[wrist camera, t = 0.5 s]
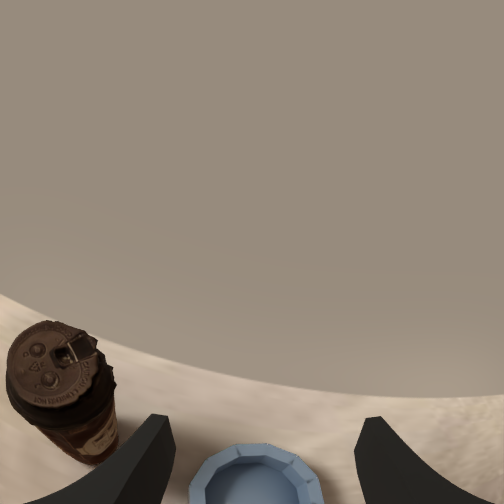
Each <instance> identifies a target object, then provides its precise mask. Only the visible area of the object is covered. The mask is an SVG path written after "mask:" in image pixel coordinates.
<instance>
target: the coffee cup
mask: <svg viewBox="0 0 504 504" xmlns="http://www.w3.org/2000/svg"><path fill="white" fill-rule="evenodd" d="M97 342H98V340H97V339H95V338H94V337H92V336H89V335H88V334H87V333H86V332H85V331H84V330H81V329H77V328H74V327H72V326H68V325H66V324H64V323H61V322H59V321H55V322H52V321H49V320H46V321H42V322H40V323H36V324H35V325H33V326H31V327H29V328H28V329H26V330H24V331H23V332H22V333H21V334H20V335H18V337H17V338H16V339H15V340H14V342H13V343H12V345H11V347H10V349H9V351H8V357H7V371H6V391H7V394H8V397H9V400H10V403H11V405H12V406H13V408H14V409H15V410H16V411H17V412H18V413H19V414H20V415H21V416H22V417H23V418H25V420H26V421H28V422H29V423H30V424H31V425H34V426H36V427H37V429H39V430H40V431H41V432H42V433H43V434H44V435H45V436H46V437H47V438H48V439H50V440H51V441H52V442H53V443H54V444H55V445H56V446H58V447H59V448H60V449H61V450H62V451H63V452H65V453H66V454H68V455H69V456H71V457H72V458H74V459H76V460H78V461H80V462H82V463H86V464H89V465H94V464H99V463H102V462H104V461H105V460H106V459H107V458H109V457H110V456H111V455H112V454H113V453H114V452H115V450H116V448H117V446H118V434H117V419H116V412H115V401H114V390H115V388H116V386H117V384H116V382H115V381H114V376H113V371H112V370H113V367H112V366H110V365H107V363H106V359H105V355H104V354H103V353H102V352H101V351H99V350H98V349H97V348H96V345H97Z"/></svg>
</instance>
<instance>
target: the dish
mask: <svg viewBox="0 0 504 504" xmlns="http://www.w3.org/2000/svg"><path fill="white" fill-rule="evenodd" d="M296 456H297V455H296V454H293V453H290V452H288V451H285V450H283V449H280V448H278V447H275V446H273V445H270V444H268V445H267V443H265V444H236V445H233V446H231V447H229V448H227V449H225V450H223V451H221V452H219V453H217V454H215V455H213V456H211V457H209V458H207V459H206V460H205V461H204V463H203V464H202V466H201V467H200V469H199V471H198V472H197V474H196V475H195V477H194V478H193V480H192V481H191V483H190V485H189V489H188V504H324V500H323V496H322V491H321V487H320V483H319V479H318V478H316V477H318V476H317V475H316V474H315V473H314V472H313V471H312V470H311V469H310V468H309V467H308V466H307V465H306V464H305V463H304V462H303V461H302V459H301V458H300V457H299V456H297V457H296Z"/></svg>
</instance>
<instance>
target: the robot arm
mask: <svg viewBox="0 0 504 504" xmlns="http://www.w3.org/2000/svg"><path fill="white" fill-rule="evenodd" d="M175 452H176V446H175V442H174V439H173V435H172V431H171V427H170V423H169V419H168V416H164V415H158V414H151V415H150V416H149V417H148V418H147V419H146V420H145V422H144V423H143V424H142V425H141V426H140V427H139V428H138V429H137V430H136V431H135V433H134V434H133V435H132V436H131V437H130V438H129V439H128V440H127V441H126V442H125V443H124V444H123V445H122V446H121V447H120V448H119V449H118V450H116V451H115V452H114V453H113V454H112V455H111V456H110V457H109V458H107V459H106V460H105V461H104V462H103V463H102V464H100V465H99V466H98V467H96V468H95V469H94V470H92V471H91V472H90V473H88V474H87V475H85V476H84V477H82V478H81V479H79V480H77V481H76V482H74V483H72V484H71V485H69V486H67V487H65V488H63V489H61V490H59V491H57V492H55V493H52V494H50V495H48V496H45V497H43V498H40V499H38V500H35V501H31V502H28V503H24V504H161V501H162V498H163V495H164V492H165V489H166V487H167V484H168V481H169V478H170V475H171V472H172V467H173V463H174V457H175ZM354 455H355V462H356V469H357V474H358V478H359V481H360V485H361V488H362V492H363V495H364V499H365V502H366V504H494V503H491V502H488V501H486V500H483V499H481V498H478V497H476V496H474V495H472V494H470V493H468V492H466V491H464V490H463V489H461V488H459V487H457V486H456V485H454V484H452V483H451V482H449V481H448V480H447V479H445V478H444V477H442V476H441V475H440V474H438V473H437V472H436V471H434V470H433V469H432V468H431V467H430V466H429V465H427V464H426V463H425V462H424V461H423V460H422V459H421V458H420V457H419V456H418V455H417V454H416V453H415V452H414V451H413V450H412V449H411V448H410V447H409V446H408V445H407V444H406V443H405V442H404V441H403V440H402V439H401V438H400V437H399V436H398V435H397V434H396V432H395V431H394V430H393V429H392V428H391V427H390V426H389V425H388V424H387V422H386V421H385V420H384V419H383V418H382V417H381V416H379V417H371V418H366V419H365V422H364V425H363V428H362V430H361V433H360V436H359V438H358V441H357V444H356V446H355V449H354Z"/></svg>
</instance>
